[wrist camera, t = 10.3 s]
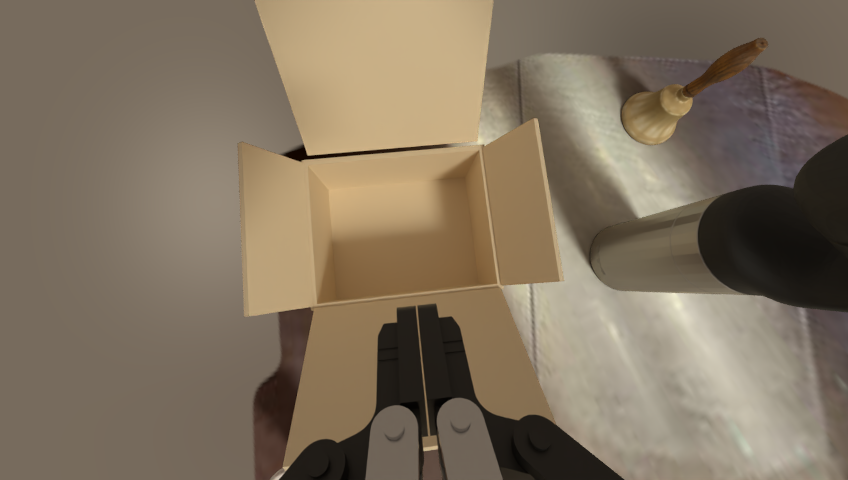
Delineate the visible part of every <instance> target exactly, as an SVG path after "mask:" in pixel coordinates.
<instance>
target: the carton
mask: <svg viewBox="0 0 848 480" xmlns="http://www.w3.org/2000/svg"><path fill="white" fill-rule="evenodd" d="M238 164H239V165H238V166H239V192H240V217H241V242H242V269H243V291H244V292H243V293H244V316H245V317H246V316H255V315H261V314H268V313H274V312H281V311H287V310H294V309H300V308H307V307H311V311H313V310H314V313H313V318H312V323H311V328H310V333H309V338H308V343H307V348H306V353H305V358H304V363H303V368H302V373H301V378H300V383H299V388H298V393H297V398H296V403H295V408H294V413H293V418H292V423H291V428H290V433H289V438H288V443H287V448H286V453H285V458H284V463H283V468H284V470H287V469H288V468H289V467H290V466H291V464H292V463H293V462H294V461H295V460H296V458H297V457H298V456H299V455H300V453H301V452H302V451H303V450H304V449H305V448H306V447H307V446H308V445H310V444H311V443H313V442H315V441H317V440H321V439H331V440H334V441H336V442H337V443H338V442H340V441H342V440H344V439H346V438H349V437H351V436H353V435H355V434H356V433H358V432H360V431H361V430H363V429H364V428H365V427H366V426H367V425H368V424H369V422H370V421H371V419H372V417H373V415H374V413H375V409H376V393H377V352H378V350H377V346H378V334H379V332H380V330H381V328H382V326H383V324H385V323H395V322H397V307H407V306H416V315H417V325H418V335H419V345H420V355H421V365H422V375H423V385H424V395H425V406H426V417H427V428H428V436H427V437H422V439H423V451H428V450H435V449H438V445H437V436H436V435H434V436H430V428H429V419H428V409H427V399H426V390H425V380H424V370H423V361H422V351H421V341H420V330H419V319H418V308H417V305H425V304H435V303H436V305H437V310H438V316H439V318H440V317H450V316H452V317H453V319H454V320H455V321H456V322H457V324H458V325H459V326H460V330H461V334H462V338H463V343H464V347H465V353H466V356H467V360H468V365H469V369H470V374H471V378H472V383H473V387H474V391H475V395H476V397H477V399H478V401H479V402H480V404H481V405H482V406H483V407H484V408H485V409H486V410H488V411H489V412H491V413H493V414H495V415H498V416H502V417H506V418H510V419H515V420H520V419H521V418H522V417H524V416H527V415H540V416H543V417H545V418H547V419H549V420H550V421H552V422H553V423H554V424H555V425H556V423H555V420H554V418H553V416H552V413H551V411H550V408H549V406H548V403H547V401H546V398H545V396H544V393H543V391H542V388H541V386H540V384H539V381H538V379H537V376H536V374H535V371H534V369H533V366H532V364H531V361H530V359H529V357H528V354H527V352H526V349H525V347H524V344H523V342H522V339H521V337H520V334H519V332H518V329H517V327H516V325H515V322H514V320H513V317H512V315H511V312H510V310H509V307H508V305H507V302H506V300H505V298H504V295H503V293H502V290H501V289H504V287H503V285H515V284H529V283H544V282H558V281H564V278H563V271H562V265H561V259H560V253H559V247H558V241H557V234H556V228H555V222H554V216H553V210H552V203H551V197H550V191H549V185H548V179H547V173H546V166H545V160H544V154H543V148H542V142H541V135H540V129H539V123H538V119H536V118H532V119H531V120H529V121H527V122H526V123H524V124H522V125H520V126H519V127H517V128H515V129H514V130H512V131H510V132H508V133H507V134H505V135H503V136H502V137H500V138H498V139H496V140H495V141H493V142H491V143H490V144H488V145H486V146H484V145H473V146H462V147H450V148H439V149H427V150H415V151H404V152H392V153H380V154H369V155H357V156H345V157H334V158H322V159H310V160H302V162H299V161H296V160H293V159H290V158H288V157H285V156H282V155H279V154H276V153H273V152H269V151H267V150H264V149H262V148H258V147H255V146H253V145H250V144H247V143H244V142H240V143H238Z"/></svg>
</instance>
